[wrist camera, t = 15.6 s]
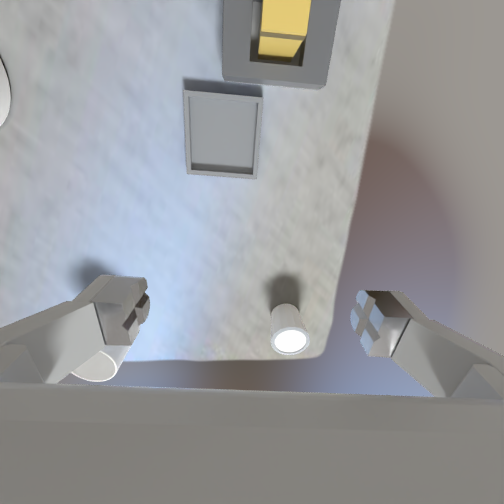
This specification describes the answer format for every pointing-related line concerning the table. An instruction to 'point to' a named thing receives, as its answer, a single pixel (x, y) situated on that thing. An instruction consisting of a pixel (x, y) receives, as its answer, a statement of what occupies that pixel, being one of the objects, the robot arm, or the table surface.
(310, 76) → the grey socket block
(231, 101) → the tray
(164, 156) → the table surface
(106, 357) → the cup
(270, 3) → the plug
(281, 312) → the white cylinder
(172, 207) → the table surface
